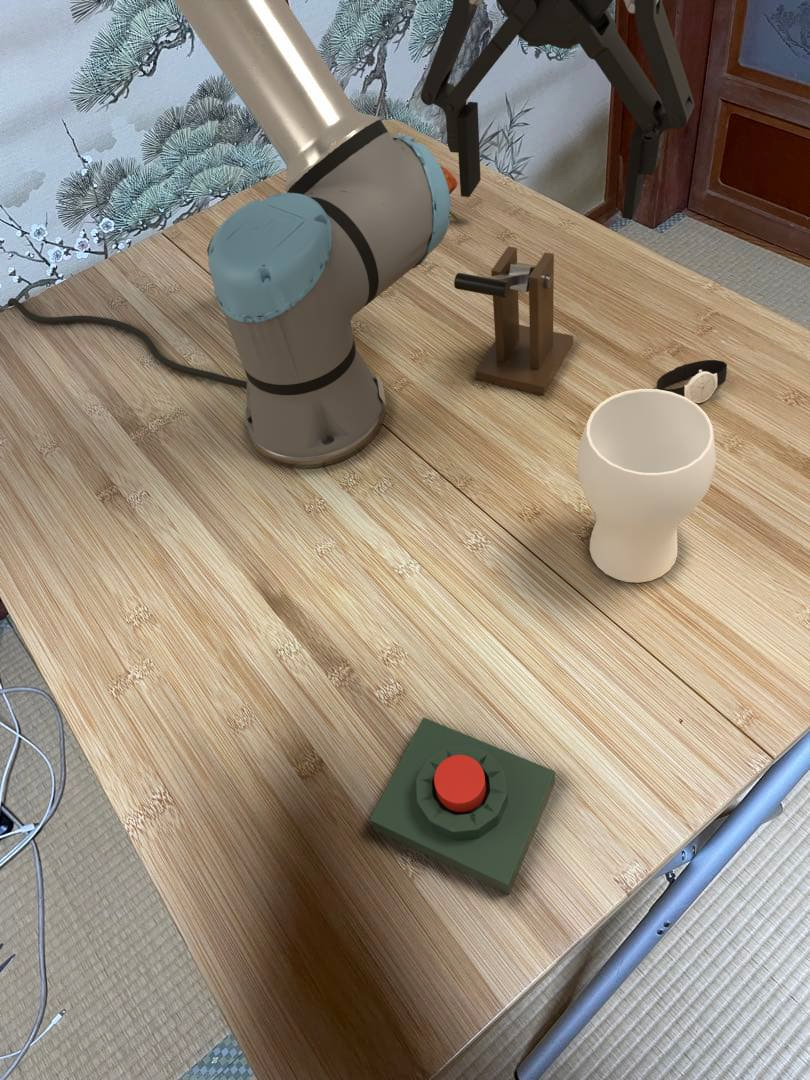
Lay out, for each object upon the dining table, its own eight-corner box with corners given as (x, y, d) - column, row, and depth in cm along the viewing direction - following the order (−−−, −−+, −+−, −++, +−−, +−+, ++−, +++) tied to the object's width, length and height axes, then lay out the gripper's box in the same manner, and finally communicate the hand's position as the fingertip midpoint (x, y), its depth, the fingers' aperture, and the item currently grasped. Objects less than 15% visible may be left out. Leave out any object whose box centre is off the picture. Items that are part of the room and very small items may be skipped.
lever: (502, 304, 75) (506, 276, 74) (452, 294, 77) (455, 267, 76) (548, 292, 86) (552, 268, 85) (503, 284, 88) (507, 260, 87)
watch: (669, 417, 85) (674, 390, 83) (644, 390, 88) (648, 363, 85) (734, 391, 86) (741, 364, 84) (708, 365, 89) (713, 338, 87)
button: (428, 800, 60) (425, 791, 59) (449, 757, 62) (447, 747, 61) (473, 820, 59) (472, 811, 57) (493, 776, 61) (492, 766, 59)
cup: (667, 614, 71) (691, 499, 59) (553, 569, 76) (555, 454, 64) (711, 527, 76) (741, 405, 64) (602, 490, 81) (611, 369, 69)
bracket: (543, 395, 90) (543, 294, 80) (476, 379, 93) (467, 280, 83) (573, 344, 94) (576, 243, 84) (507, 330, 97) (503, 231, 87)
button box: (373, 830, 63) (365, 811, 60) (426, 729, 67) (420, 706, 64) (509, 895, 59) (507, 878, 56) (555, 782, 63) (555, 761, 60)
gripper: (352, -102, 53) (391, 203, 70) (759, -97, 45) (694, 247, 62) (399, -141, 57) (426, 157, 74) (782, -142, 49) (715, 192, 66)
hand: (548, 199), depth 68 cm, fingers open, 13 cm apart
